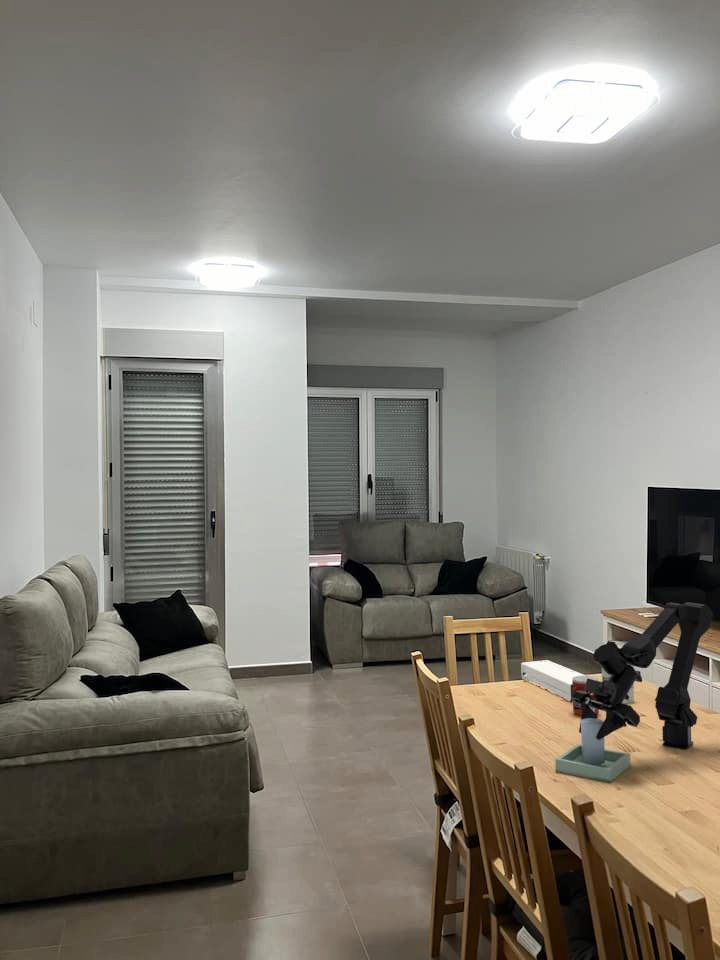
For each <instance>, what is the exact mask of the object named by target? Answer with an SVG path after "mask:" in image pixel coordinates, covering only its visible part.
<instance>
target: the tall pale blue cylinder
mask: <svg viewBox="0 0 720 960" xmlns="http://www.w3.org/2000/svg"><path fill="white" fill-rule="evenodd" d="M604 721H605V720H602V719H601V718H597V719H595V718H586V719H582V720H581V719H580V722H581V733H580V735H581V736H580V737H581V739H580V740H581V745H582V761H583V762H584V763H586V764H591V765H600V764H603V763H605V749H606V748H605V737H604V738H602V739H600V740H598V739H597V738H596V736H597V734H598V732H599V730H600V728H601V726H602V724H603V722H604Z"/></svg>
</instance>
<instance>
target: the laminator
mask: <svg viewBox="0 0 720 960" xmlns="http://www.w3.org/2000/svg"><path fill="white" fill-rule="evenodd" d="M520 675H521V676H520V677H521V680H523V681H525V680H526V682H527V681H531V682H535V683H536V684H539V685H541V686H543V687H545V688H547V689H549V690H550V691H552V692H554V693H556V694H558V695H560V696H561V697H563V698H565V699H567V700H569V701H573V699H572V698H571V697H572V696H573V687H572V680H573V677H576V676H587V675H585V674H582V673H580V672H579V671H575V670H573V669H571V668H568V667H565V666H563V665H561V664H559V663H556V662H553V661H551V660H548V659H544V660H543V659H542V660H534V661H526V662H525V661H522V662H520ZM534 679H535V680H534ZM598 681H599V682H601V681H600V680H598ZM561 697H560V698H561ZM563 698H562V699H563ZM565 699H564V700H565ZM567 700H566V701H567ZM569 701H568V702H569Z"/></svg>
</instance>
